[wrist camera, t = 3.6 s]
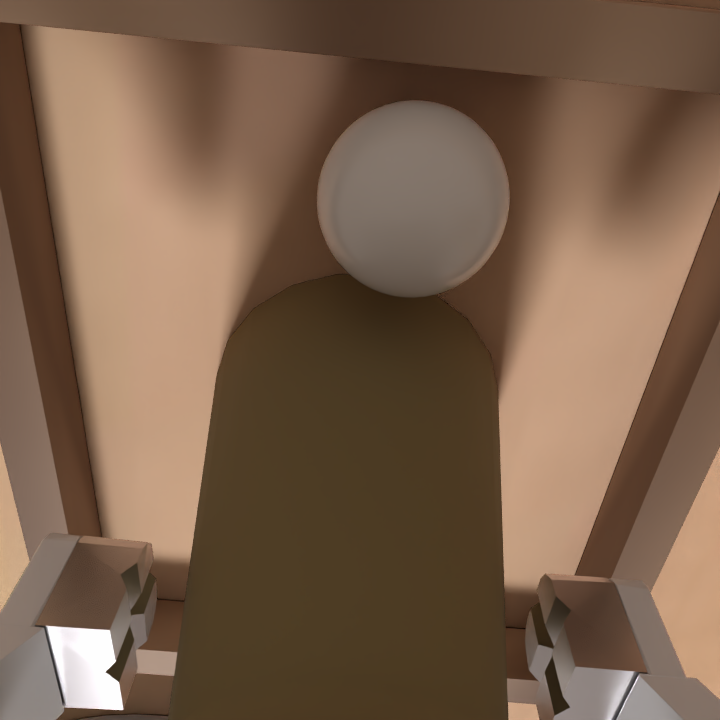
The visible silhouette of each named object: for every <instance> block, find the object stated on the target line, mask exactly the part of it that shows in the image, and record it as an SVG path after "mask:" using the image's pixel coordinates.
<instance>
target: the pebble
mask: <svg viewBox="0 0 720 720" xmlns="http://www.w3.org/2000/svg"><path fill="white" fill-rule="evenodd" d="M509 204H510V189H509V181H508V176H507V173H506V169H505V165H504V162H503V160H502V158H501V155H500V153H499V151H498V149H497V147H496V146H495V144H494V143H493V141H492V139H491V138H490V137H489V136H488V135H487V133H486V132H485V131H484V130H483V129H482V128H481V127H480V126H479V125H478V124H477V123H476V122H475V121H473V120H472V119H471V118H469V117H468V116H466V115H465V114H463V113H462V112H460V111H458V110H456V109H454V108H452V107H450V106H446V105H443V104H440V103H437V102H431V101H425V100H408V101H398V102H394V103H390V104H386V105H384V106H381V107H379V108H376V109H374V110H372V111H370V112H368V113H366V114H365V115H363V116H361V117H360V118H359V119H357V120H356V121H355V122H353V123H352V124H351V125H350V126H349V127H348V128H347V129H346V130H345V131H344V132H343V133H342V134H341V135H340V137H339V138H338V139H337V141H336V142H335V143H334V145H333V147H332V148H331V150H330V152H329V154H328V155H327V157H326V160H325V162H324V165H323V167H322V170H321V174H320V178H319V182H318V190H317V212H318V219H319V224H320V227H321V231H322V234H323V237H324V239H325V241H326V243H327V246H328V248H329V249H330V251H331V253H332V254H333V256H334V258H335V259H336V260H337V261H338V263H339V264H340V265H341V266H342V267H343V268H344V269H345V270H346V271H347V272H348V273H349V274H350V275H351V276H352V277H353V278H355V279H356V280H358V281H359V282H360V283H362V284H364V285H365V286H367V287H369V288H371V289H373V290H376V291H378V292H380V293H384V294H388V295H391V296H398V297H410V298H416V297H426V296H431V295H436V294H439V293H442V292H445V291H448V290H450V289H452V288H454V287H456V286H458V285H460V284H461V283H463V282H465V281H466V280H468V279H469V278H470V277H472V276H473V275H474V274H475V273H477V272H478V271H479V269H480V268H481V267H482V266H483V265H484V264H485V263H486V262H487V261H488V259H489V258H490V257H491V255H492V254H493V252H494V250H495V249H496V247H497V245H498V244H499V242H500V239H501V237H502V235H503V232H504V230H505V226H506V222H507V219H508V212H509Z"/></svg>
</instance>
